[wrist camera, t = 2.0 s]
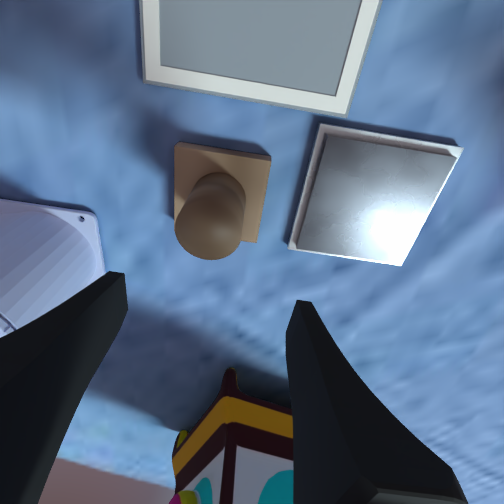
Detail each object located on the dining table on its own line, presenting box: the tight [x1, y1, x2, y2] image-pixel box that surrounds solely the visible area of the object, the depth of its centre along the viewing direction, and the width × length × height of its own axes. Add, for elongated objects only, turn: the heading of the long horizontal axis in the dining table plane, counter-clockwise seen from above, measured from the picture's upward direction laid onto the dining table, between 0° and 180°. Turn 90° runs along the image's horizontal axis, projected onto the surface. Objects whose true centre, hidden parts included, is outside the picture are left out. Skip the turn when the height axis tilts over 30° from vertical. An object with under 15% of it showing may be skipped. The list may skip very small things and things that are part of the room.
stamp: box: [174, 141, 271, 260], centre depth 18 cm, size 6×6×6 cm
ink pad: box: [287, 122, 464, 266], centre depth 20 cm, size 9×9×1 cm
